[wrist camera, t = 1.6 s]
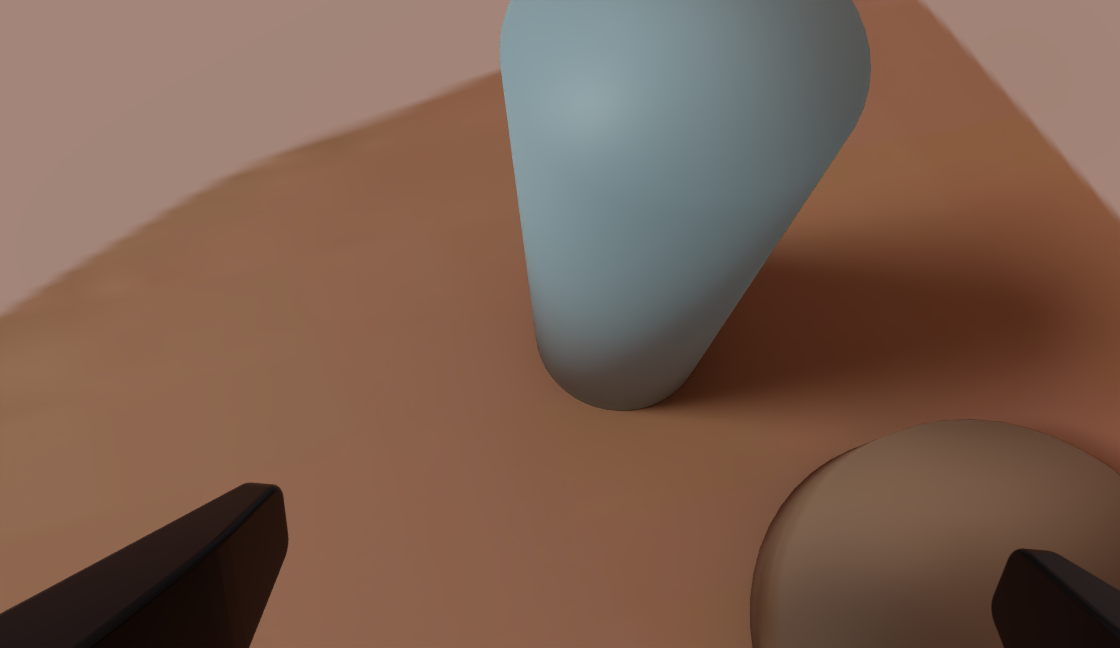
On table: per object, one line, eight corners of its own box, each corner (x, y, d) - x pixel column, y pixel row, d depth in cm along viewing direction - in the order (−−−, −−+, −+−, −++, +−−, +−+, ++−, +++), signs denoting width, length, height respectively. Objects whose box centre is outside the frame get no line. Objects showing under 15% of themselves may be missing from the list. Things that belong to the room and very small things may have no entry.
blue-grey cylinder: (716, 401, 22) (914, 189, 9) (543, 419, 21) (514, 227, 9) (687, 245, 23) (823, -105, 11) (528, 260, 23) (487, -77, 11)
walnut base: (1213, 839, 18) (1337, 891, 15) (795, 890, 17) (840, 954, 15) (1066, 421, 21) (1143, 399, 18) (718, 457, 21) (742, 441, 18)
